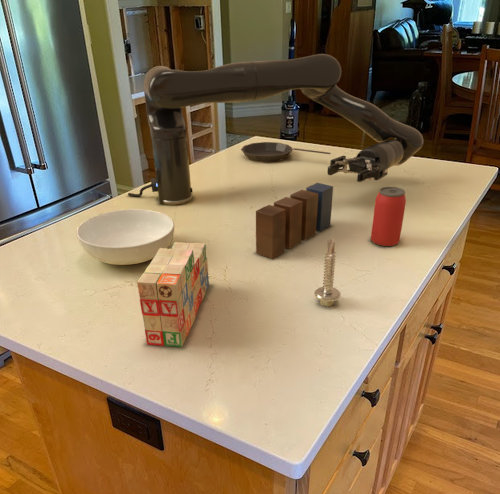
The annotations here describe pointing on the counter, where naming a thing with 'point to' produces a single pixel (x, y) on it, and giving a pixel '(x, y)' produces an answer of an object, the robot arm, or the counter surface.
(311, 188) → the block
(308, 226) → the line block
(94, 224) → the serving bowl
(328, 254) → the screw
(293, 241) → the line block
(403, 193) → the beer can
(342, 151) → the counter surface
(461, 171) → the counter surface
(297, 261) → the counter surface
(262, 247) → the line block
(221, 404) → the counter surface
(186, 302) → the stack of blocks
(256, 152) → the frying pan
